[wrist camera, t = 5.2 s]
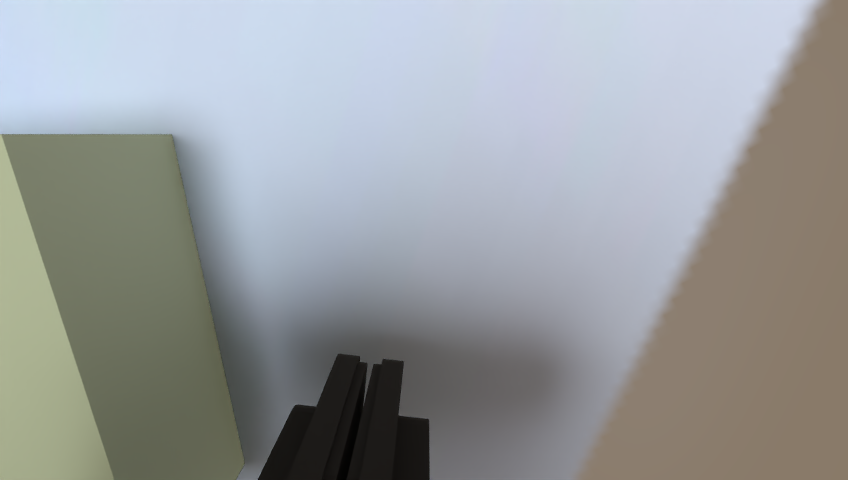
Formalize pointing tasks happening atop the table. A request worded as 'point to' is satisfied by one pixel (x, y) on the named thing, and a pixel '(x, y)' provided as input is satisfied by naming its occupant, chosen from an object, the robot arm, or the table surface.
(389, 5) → the table surface
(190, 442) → the slab
